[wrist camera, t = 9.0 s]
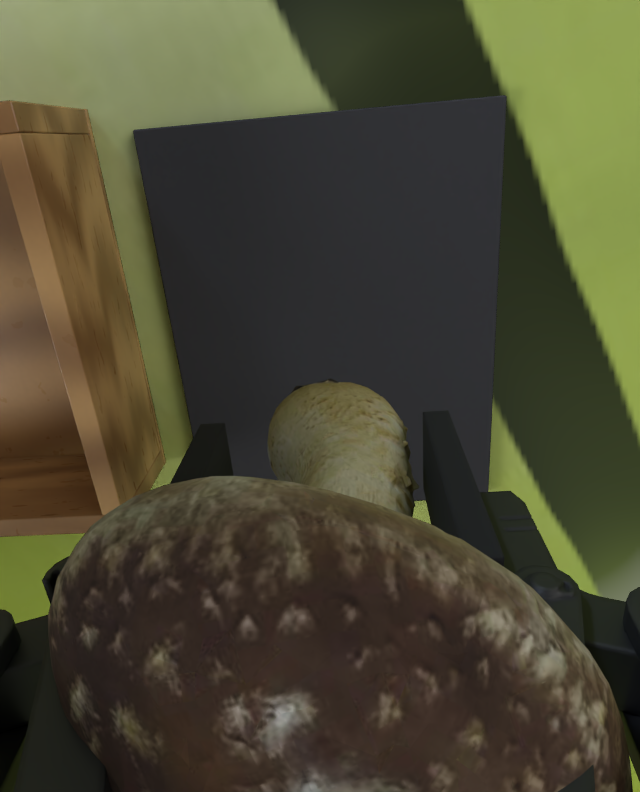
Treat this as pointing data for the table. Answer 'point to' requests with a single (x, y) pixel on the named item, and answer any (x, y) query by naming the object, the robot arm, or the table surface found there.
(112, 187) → the table surface
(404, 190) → the mat
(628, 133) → the table surface
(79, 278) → the crate
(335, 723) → the mushroom
